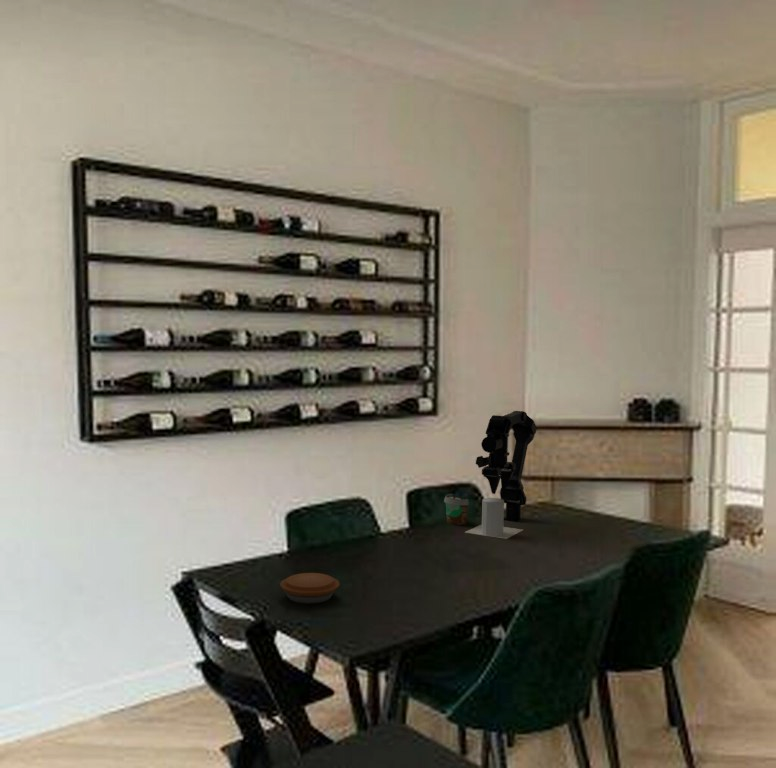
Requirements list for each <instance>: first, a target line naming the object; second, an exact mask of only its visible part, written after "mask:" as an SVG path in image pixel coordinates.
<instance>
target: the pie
mask: <svg viewBox="0 0 776 768" xmlns="http://www.w3.org/2000/svg"><path fill="white" fill-rule="evenodd" d="M279 585H280V587H281V589H282V590H283V592H284V593H285V595H286V596H287V599H289V600H290V601H292V602H294V603H296V604H297V603H298V604H306V605H307V604H308V605H309V604H319V603H324V602H326V601H328V600H330V599H331V598H332V596H333V594H335V591H336V590H337V589H338V588H339V587H340V585H341V584H340V581H339V579H337V578H334V577H333V576H330V575H329V574H325V573H321V572H320V573H319V572H303V573H296V574H292V575H290V576H288V577H287V578H285V579H283V580H282V581H280V584H279Z"/></svg>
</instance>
